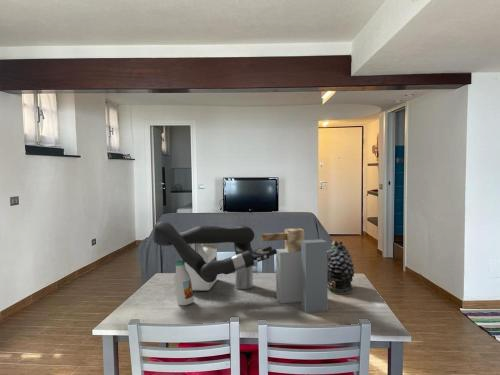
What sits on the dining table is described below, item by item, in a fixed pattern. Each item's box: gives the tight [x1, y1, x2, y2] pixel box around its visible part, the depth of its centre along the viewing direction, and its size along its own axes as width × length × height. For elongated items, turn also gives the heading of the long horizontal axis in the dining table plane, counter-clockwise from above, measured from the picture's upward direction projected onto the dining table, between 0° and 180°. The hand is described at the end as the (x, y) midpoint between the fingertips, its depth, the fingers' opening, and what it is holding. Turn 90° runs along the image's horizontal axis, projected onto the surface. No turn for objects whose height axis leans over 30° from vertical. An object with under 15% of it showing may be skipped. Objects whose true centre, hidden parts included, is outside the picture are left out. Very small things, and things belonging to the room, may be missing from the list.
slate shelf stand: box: [275, 238, 329, 314], centre depth 162 cm, size 18×21×31 cm
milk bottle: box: [173, 259, 195, 306], centre depth 164 cm, size 8×8×20 cm
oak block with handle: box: [261, 227, 305, 252], centre depth 166 cm, size 20×6×10 cm, turn 101°
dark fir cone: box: [327, 240, 355, 295], centre depth 182 cm, size 21×15×25 cm
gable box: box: [185, 243, 219, 291], centre depth 191 cm, size 22×13×28 cm, turn 173°
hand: (273, 249), depth 166 cm, fingers open, 8 cm apart
